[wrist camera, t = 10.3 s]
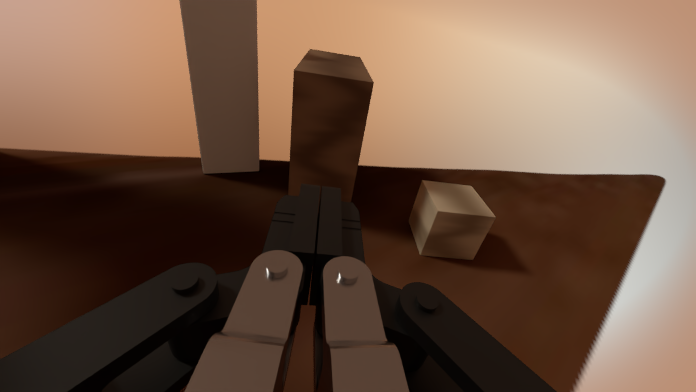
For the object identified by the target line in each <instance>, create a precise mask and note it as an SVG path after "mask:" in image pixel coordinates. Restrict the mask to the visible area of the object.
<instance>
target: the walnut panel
mask: <svg viewBox="0 0 696 392" xmlns="http://www.w3.org/2000/svg"><path fill="white" fill-rule="evenodd" d="M373 83H374V82H373V81H372V79H371V77H370V75H369V73H368V71H367V69H366V67H365V66H364V64H363V62H362V60H361V58H360V57H355V56H349V55H343V54H337V53H330V52H324V51H319V50H312V49H310V50H309V51H308V53H307V54H306V55H305V56H304V58H303V59H302V60H301V62H300V63H299V64H298V66H297V67H296V68H295V69H294V82H293V103H292V104H293V106H292V126H291V147H290V169H289V191H288V195H291V196H299V192H300V187H301V183H302V184H310V185H318V186H320V195H319V203H320V196H321V188H322V186H327V187H335V188H341V201H344V202H351V199H352V194H353V189H354V184H355V178H356V173H357V168H358V162H359V157H360V152H361V147H362V141H363V136H364V131H365V126H366V120H367V114H368V110H369V104H370V99H371V94H372V88H373ZM318 210H319V206H318Z"/></svg>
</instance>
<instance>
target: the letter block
mask: <svg viewBox="0 0 696 392" xmlns="http://www.w3.org/2000/svg"><path fill="white" fill-rule="evenodd" d="M495 218H496V217H495V216H494V214H493V213H492V212H491V210H490V209H489V208H488V207H487V205H486V204H485V203H484V201H483V200H482V199H481V198H480V196H479V195H478V194H477V192H476V191H475V190H474V189H473V187H472V186H466V185H458V184H450V183H441V182H433V181H425V180H422V182H421V185H420V188H419V191H418V194H417V197H416V200H415V203H414V206H413V209H412V212H411V215H410V218H409V224H410V227H411V230H412V233H413V236H414V238H415V241H416V244H417V247H418V250H419V253H420V255H423V256H434V257H445V258H456V259H467V260H473V259H474V257H475V255H476V253H477V251H478V250H479V248H480V246H481V244H482V242H483V240H484V238H485V237H486V235H487V233H488V231H489V229H490V227H491V225H492V224H493V222H494V220H495Z"/></svg>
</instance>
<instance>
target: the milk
mask: <svg viewBox="0 0 696 392" xmlns="http://www.w3.org/2000/svg"><path fill="white" fill-rule="evenodd" d="M180 8H181V15H182V22H183V29H184V37H185V43H186V51H187V59H188V65H189V73H190V81H191V88H192V95H193V102H194V109H195V116H196V124H197V131H198V139H199V146H200V153H201V161H202V168H203V173H204V174H211V173H232V172H252V171H259V122H258V121H259V120H258V119H259V117H258V116H259V115H258V56H257V1H256V0H180Z"/></svg>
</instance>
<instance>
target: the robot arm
mask: <svg viewBox="0 0 696 392" xmlns="http://www.w3.org/2000/svg"><path fill="white" fill-rule="evenodd" d="M319 195H320V186H318V185H310V184H302V183H301V187H300V192H299V196H291V195H285V196H284V197H283V198H281V199H280V200H279V201H278V202H277V205H276V208H275V212H274V215H273V218H272V222H271V225H270V228H269V232H268V235H267V238H266V242H265V245H264V248H263V252H262V254H261V255H260V256H258V257H257V258H256V259H255V260H254V261H253V263H252V264H251V266H249V267H247V268H245V269H242V270H239V271H235V272H229V273H224V274H218V275H216V273H215V271H214V270H213V269H212V268H211V267H210V266H208V265H205V264H202V263H185V264H181V265H178V266H175V267H173V268H171V269H169V270H167V271H165V272H163V273H161V274H159V275H158V276H156V277H154V278H152V279H150V280H148V281H146V282H144V283H143V284H141V285H139V286H137V287H135V288H133V289H131V290H129V291H128V292H126V293H124V294H122V295H120V296H118V297H116V298H114V299H113V300H111V301H109V302H107V303H105V304H103V305H101V306H99V307H98V308H96V309H94V310H92V311H90V312H88V313H86V314H84V315H83V316H81V317H79V318H77V319H75V320H73V321H71V322H69V323H68V324H66V325H64V326H62V327H60V328H58V329H56V330H54V331H53V332H51V333H49V334H47V335H45V336H43V337H41V338H39V339H38V340H36V341H34V342H32V343H30V344H28V345H26V346H24V347H23V348H21V349H19V350H17V351H15V352H13V353H11V354H9V355H8V356H6V357H4V358H2V359H0V392H179V391H180V390H181V389H183V388H184V387H185V386H186V385H187V384H188V385H187V388H186V390H185V392H283V391H284V386H285V381H286V376H287V371H288V366H289V361H290V356H291V352H292V347H293V342H294V337H295V332H296V326H297V325H298V322H299V319H300V310H301V305H307V302H308V295H309V288H310V281H311V291H310V302H309V305H315V306H316V313H315V322H314V328H313V361H314V392H556V391H555V390H554V389H553V388H552V387H551V386H549V385H548V384H547V383H546V382H545V381H544V380H542V379H541V378H540V377H539V376H538V375H537V374H535V373H534V372H533V371H532V370H531V369H530V368H528V367H527V366H526V365H525V364H524V363H523V362H522V361H520V360H519V359H518V358H517V357H516V356H515V355H513V354H512V353H511V352H510V351H509V350H508V349H506V348H505V347H504V346H503V345H502V344H501V343H499V342H498V341H497V340H496V339H495V338H494V337H492V336H491V335H490V334H489V333H488V332H487V331H485V330H484V329H483V328H482V327H481V326H480V325H478V324H477V323H476V322H475V321H474V320H473V319H471V318H470V317H469V316H468V315H467V314H466V313H464V312H463V311H462V310H461V309H460V308H459V307H457V306H456V305H455V304H454V303H453V302H452V301H450V300H449V299H448V298H447V297H446V296H445V295H443V294H442V293H441V292H440V291H439V290H437V289H436V288H434V287H433V286H430V285H428V284H425V283H420V282H414V283H410V284H407V285H406V286H405V287H403V289H402V290H401V289H399V288H396V287H393V286H390V285H388V284H385V283H383V282H381V281H379V280H378V279H376V278H375V277H374V276H373V275H372V274H371V272H370V270H369V268H368V267H367V266H366V265H365V260H364V251H363V242H362V233H361V224H360V215H359V211H358V209H357V208H356V206H355V205H354V204H353V203H352V202H344V201H341V188H335V187H327V186H322V188H321V196H320V203H319ZM318 206H319V210H318ZM317 217H318V218H317ZM312 266H313V269H312ZM311 274H312V280H311Z"/></svg>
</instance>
